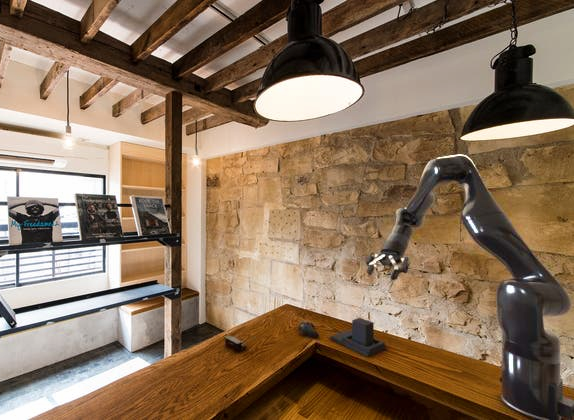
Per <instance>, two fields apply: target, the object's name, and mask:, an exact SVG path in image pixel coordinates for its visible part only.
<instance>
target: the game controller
mask: <svg viewBox="0 0 574 420" xmlns="http://www.w3.org/2000/svg"><path fill="white" fill-rule="evenodd" d="M298 326H299V327H298V328H299V329H300V331H301V335H303V336H306V335H308V336H310V337H312V338H315V339H317V338H319V337H320V333H319V332H318V331H317V330H316V328H315V324H314V323H312V322H309V321H305V322H304V321H301V322H299V323H298Z"/></svg>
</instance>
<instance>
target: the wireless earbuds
mask: <svg viewBox="0 0 574 420" xmlns="http://www.w3.org/2000/svg"><path fill="white" fill-rule="evenodd" d="M224 345H225V347H227V348H228V349H230V350H233V351H234V352H236V353H238V352H240V351H242V349H243V350H246V349H248V346H246V344H244V343H243V341H242V340H240V339H239V338H237V337H234V336H233V335H229V334H228V335H226V336H225V338H224Z"/></svg>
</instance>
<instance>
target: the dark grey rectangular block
mask: <svg viewBox="0 0 574 420" xmlns="http://www.w3.org/2000/svg"><path fill="white" fill-rule="evenodd" d="M374 327H375V326H374V321H370V320H367V319H365V318H363V317H358V318H355V319H352V320H351V331H352V340H353V341H355V342H357V343H359V344H362V345H364V346H366V347H368V346H370V345H372V344H373V338H374Z"/></svg>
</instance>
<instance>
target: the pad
mask: <svg viewBox="0 0 574 420" xmlns="http://www.w3.org/2000/svg"><path fill="white" fill-rule="evenodd" d="M330 340H331V341H334V342H335V343H337V344H340V345H342V346H344V347H346V348H347V349H350V350H352V351H355V352H356V353H359V354H360V355H363V356H365V357H367V358H369V357H371V356H373V355H375V354H377V353H379V352H381V351H383V350H386V349H387V344H386V342H385V341H382V340H379V339H378V338H375V337H373V344H372V345H370V346H368V347H366V346H364V345H362V344H359V343H357V342H355V341H353V340H352V329H346V330H343V331H342V332H338V333H335V334H333V335H331V336H330Z"/></svg>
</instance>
